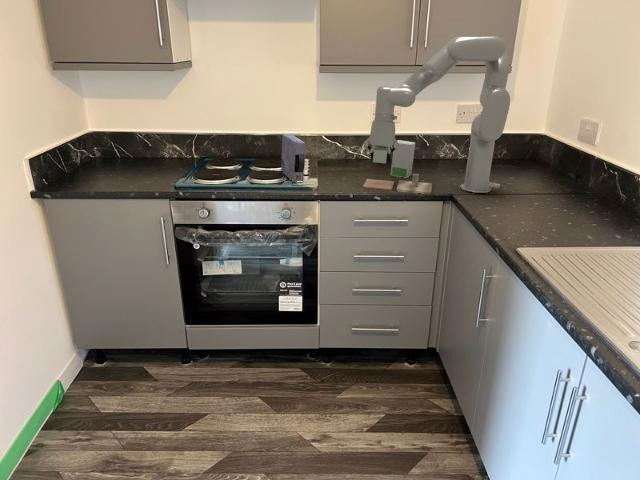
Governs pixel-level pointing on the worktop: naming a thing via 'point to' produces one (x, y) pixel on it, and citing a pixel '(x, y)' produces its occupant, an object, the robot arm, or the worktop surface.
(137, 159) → the worktop surface
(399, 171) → the skincare box
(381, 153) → the grey green cube
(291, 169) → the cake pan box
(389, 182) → the terracotta tile
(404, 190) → the post stand
